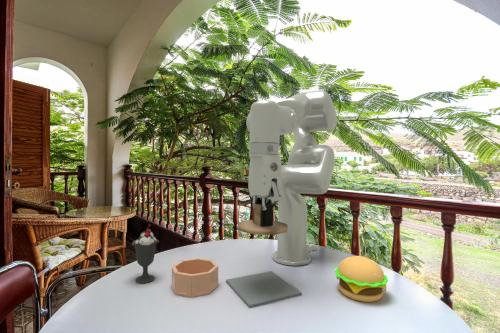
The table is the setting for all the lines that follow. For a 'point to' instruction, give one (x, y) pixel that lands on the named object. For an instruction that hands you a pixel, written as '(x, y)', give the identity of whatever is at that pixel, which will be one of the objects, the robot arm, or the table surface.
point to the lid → (256, 226)
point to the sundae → (145, 254)
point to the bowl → (194, 277)
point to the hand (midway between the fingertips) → (262, 223)
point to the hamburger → (361, 279)
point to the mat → (262, 288)
